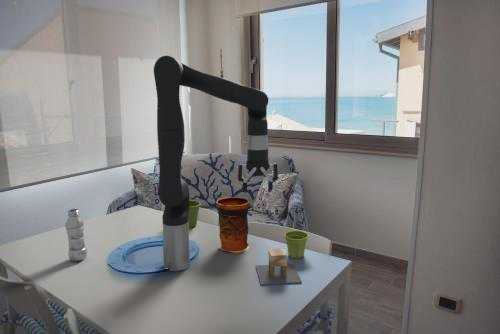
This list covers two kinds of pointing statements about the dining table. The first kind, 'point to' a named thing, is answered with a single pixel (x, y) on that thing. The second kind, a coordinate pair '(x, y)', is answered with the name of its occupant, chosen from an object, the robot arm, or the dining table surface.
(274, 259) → the notched wooden block
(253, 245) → the dining table surface
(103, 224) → the dining table surface
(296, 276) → the mat
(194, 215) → the plant pot
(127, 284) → the dining table surface
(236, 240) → the vessel
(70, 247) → the plastic bottle
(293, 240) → the plant pot
